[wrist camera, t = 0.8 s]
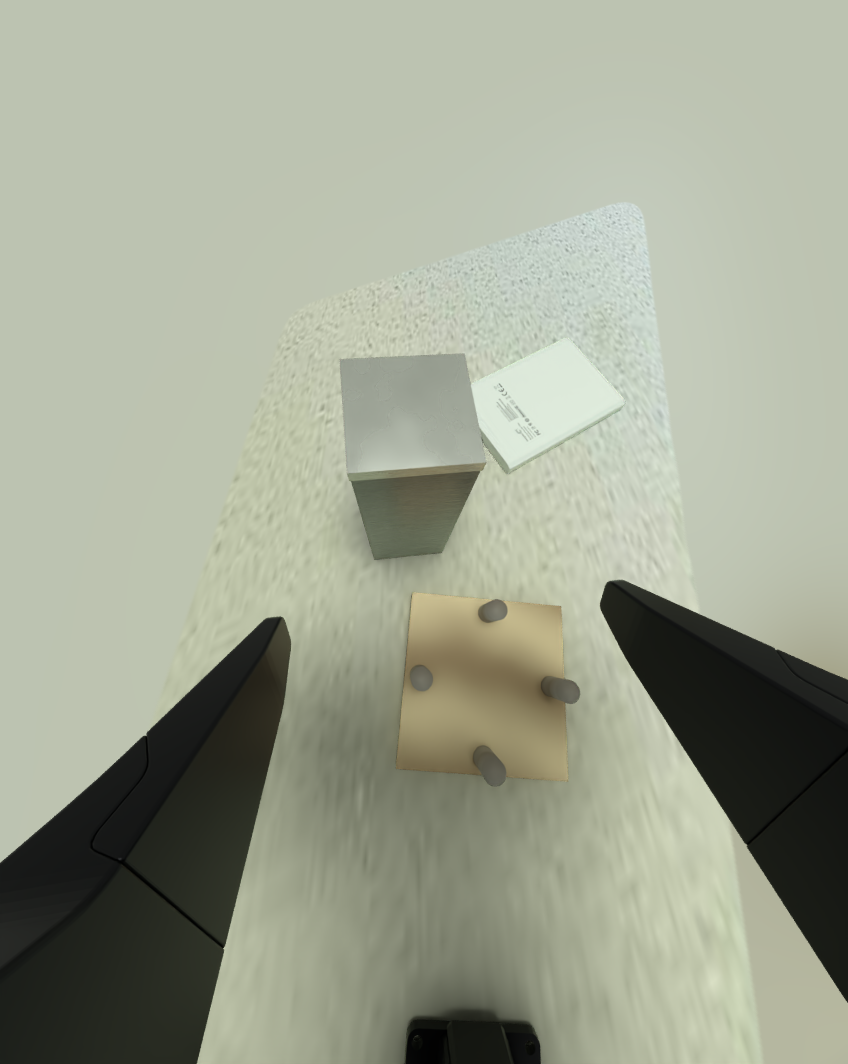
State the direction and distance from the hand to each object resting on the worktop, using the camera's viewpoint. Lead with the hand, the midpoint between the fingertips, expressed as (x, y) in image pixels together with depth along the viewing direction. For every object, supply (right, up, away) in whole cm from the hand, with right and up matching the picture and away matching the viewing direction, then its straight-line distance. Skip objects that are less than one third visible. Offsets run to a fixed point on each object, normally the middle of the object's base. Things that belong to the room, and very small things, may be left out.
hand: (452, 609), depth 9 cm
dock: (+3, -7, +13) cm, 15 cm away
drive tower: (-2, +3, +16) cm, 16 cm away
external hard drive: (+9, +13, +20) cm, 26 cm away
